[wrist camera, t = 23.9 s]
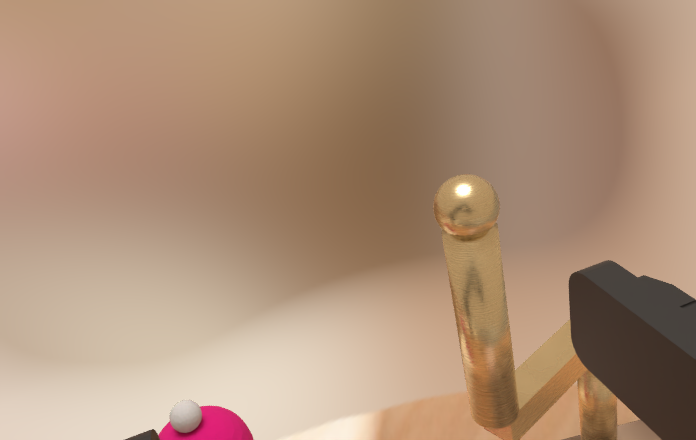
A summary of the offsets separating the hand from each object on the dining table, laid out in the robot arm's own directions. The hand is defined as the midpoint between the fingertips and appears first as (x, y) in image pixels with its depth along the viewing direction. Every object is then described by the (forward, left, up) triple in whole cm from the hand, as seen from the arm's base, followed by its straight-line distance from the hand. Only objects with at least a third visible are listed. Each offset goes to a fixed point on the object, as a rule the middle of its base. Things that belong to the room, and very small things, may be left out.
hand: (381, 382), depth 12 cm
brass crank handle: (+11, +21, -32) cm, 39 cm away
